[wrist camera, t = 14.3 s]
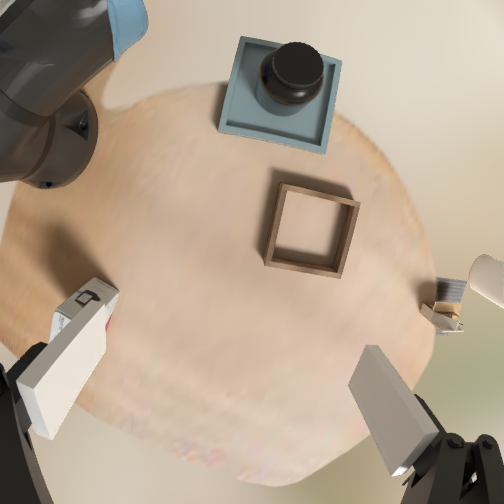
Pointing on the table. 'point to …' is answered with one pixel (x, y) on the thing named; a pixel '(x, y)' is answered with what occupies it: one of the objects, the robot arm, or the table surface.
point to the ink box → (84, 304)
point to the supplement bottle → (289, 79)
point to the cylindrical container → (488, 278)
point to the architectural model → (445, 306)
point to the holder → (343, 244)
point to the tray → (268, 125)
